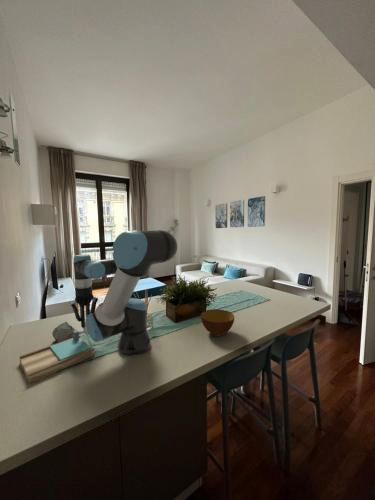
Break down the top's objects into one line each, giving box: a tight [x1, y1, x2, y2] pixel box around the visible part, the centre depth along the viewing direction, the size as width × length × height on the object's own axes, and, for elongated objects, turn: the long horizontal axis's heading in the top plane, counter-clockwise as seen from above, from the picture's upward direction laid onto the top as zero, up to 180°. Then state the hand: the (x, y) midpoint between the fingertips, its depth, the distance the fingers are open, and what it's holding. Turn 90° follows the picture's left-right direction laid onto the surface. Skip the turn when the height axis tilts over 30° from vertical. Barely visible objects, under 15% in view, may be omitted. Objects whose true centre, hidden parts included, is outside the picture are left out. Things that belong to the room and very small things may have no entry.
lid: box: [49, 329, 92, 361], centre depth 98 cm, size 15×12×5 cm
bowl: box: [200, 308, 235, 337], centre depth 117 cm, size 18×18×10 cm
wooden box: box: [19, 335, 95, 384], centre depth 94 cm, size 17×24×3 cm
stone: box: [51, 321, 76, 343], centre depth 110 cm, size 10×10×10 cm
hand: (86, 332), depth 108 cm, fingers closed
